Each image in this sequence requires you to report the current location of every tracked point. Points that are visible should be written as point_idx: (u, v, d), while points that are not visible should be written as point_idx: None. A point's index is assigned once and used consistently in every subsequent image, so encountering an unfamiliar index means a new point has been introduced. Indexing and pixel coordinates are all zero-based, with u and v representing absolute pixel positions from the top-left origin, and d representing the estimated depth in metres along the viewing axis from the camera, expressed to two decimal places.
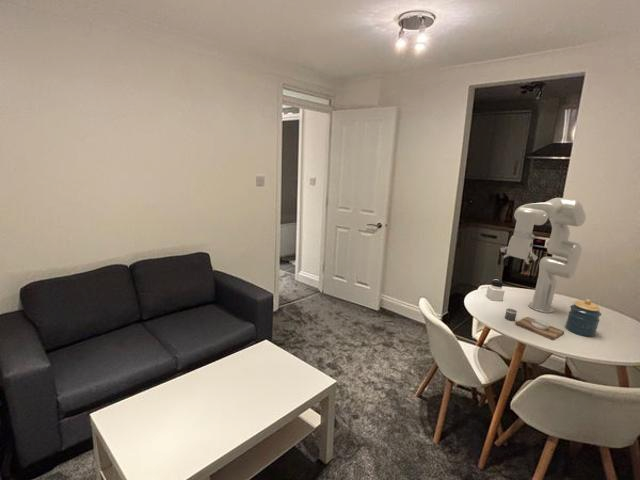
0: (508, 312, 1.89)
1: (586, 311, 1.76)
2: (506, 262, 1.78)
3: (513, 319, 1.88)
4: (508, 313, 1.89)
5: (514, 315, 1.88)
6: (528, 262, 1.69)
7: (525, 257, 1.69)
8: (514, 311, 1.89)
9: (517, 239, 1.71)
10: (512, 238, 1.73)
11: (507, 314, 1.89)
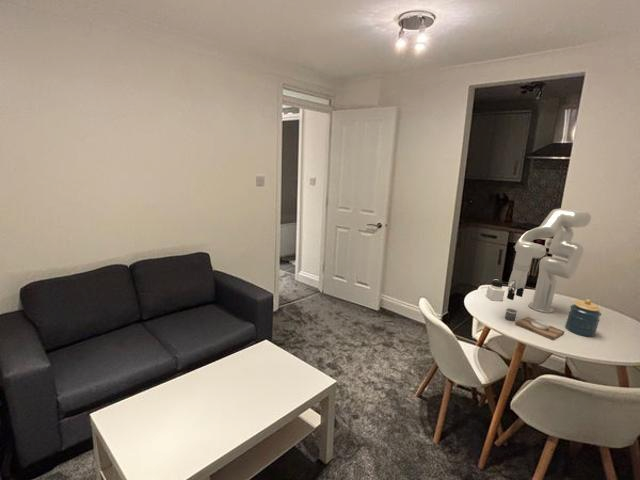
0: (508, 312, 1.89)
1: (586, 311, 1.76)
2: None
3: (513, 319, 1.88)
4: (508, 313, 1.89)
5: (514, 315, 1.88)
6: None
7: (524, 285, 1.87)
8: (514, 311, 1.89)
9: (524, 272, 1.82)
10: (521, 273, 1.81)
11: (507, 314, 1.89)
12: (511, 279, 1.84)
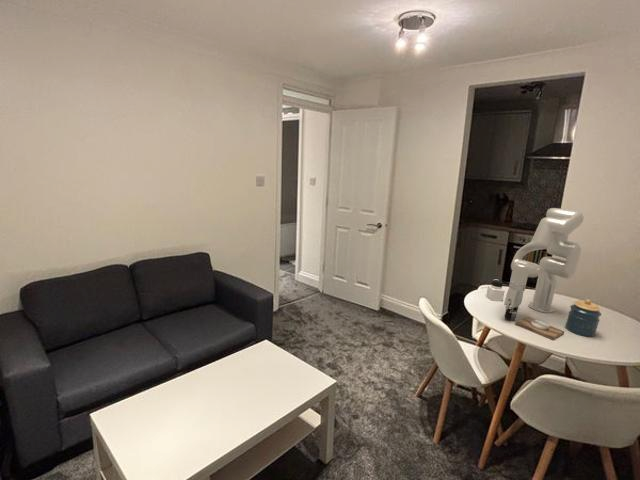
0: None
1: (586, 311, 1.76)
2: None
3: (513, 319, 1.88)
4: None
5: (514, 315, 1.88)
6: None
7: (520, 303, 1.90)
8: (514, 311, 1.89)
9: (520, 292, 1.85)
10: (517, 292, 1.83)
11: None
12: (507, 298, 1.86)
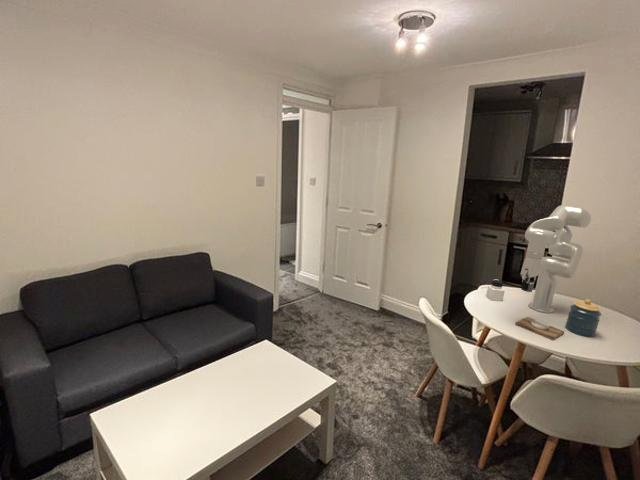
0: None
1: (586, 311, 1.76)
2: None
3: (530, 290, 1.81)
4: None
5: (531, 286, 1.80)
6: None
7: (538, 273, 1.82)
8: (531, 281, 1.81)
9: (538, 261, 1.77)
10: (534, 261, 1.76)
11: None
12: (524, 267, 1.79)
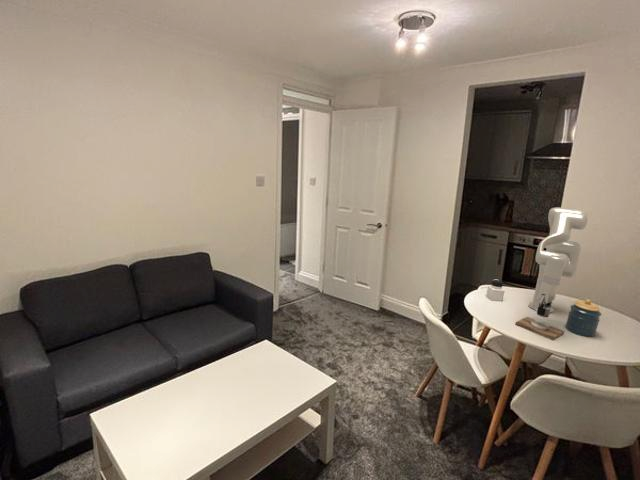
0: None
1: (586, 311, 1.76)
2: None
3: (546, 315, 1.77)
4: None
5: (548, 311, 1.76)
6: None
7: (554, 298, 1.78)
8: (547, 307, 1.77)
9: (555, 286, 1.73)
10: (552, 286, 1.72)
11: None
12: (540, 292, 1.75)
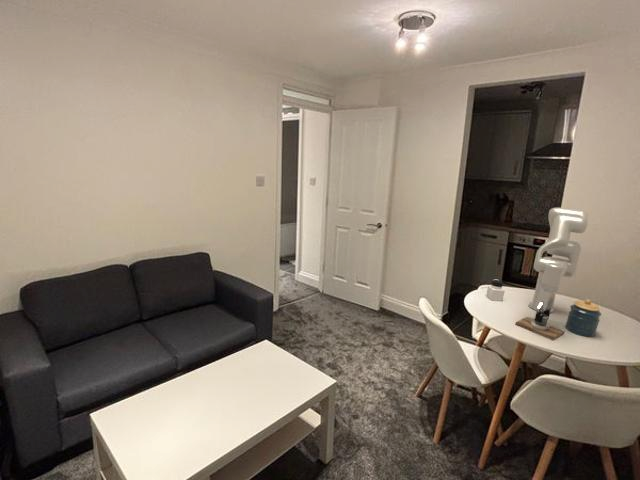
0: None
1: (586, 311, 1.76)
2: None
3: (544, 324, 1.78)
4: None
5: (545, 320, 1.78)
6: None
7: (552, 305, 1.79)
8: (545, 316, 1.78)
9: (553, 293, 1.74)
10: (550, 294, 1.73)
11: None
12: (539, 300, 1.76)
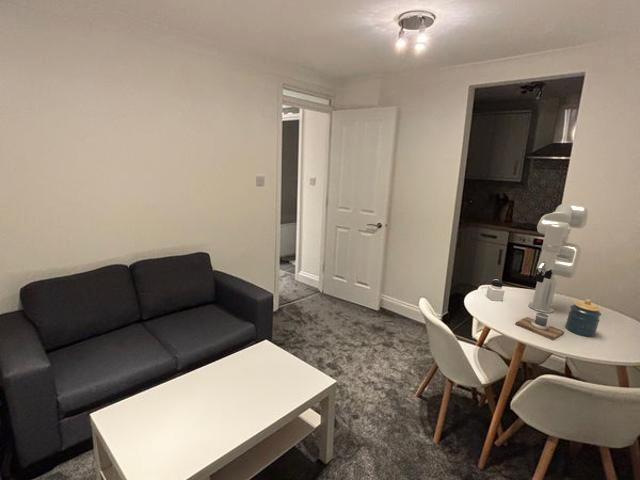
0: (539, 317, 1.78)
1: (586, 311, 1.76)
2: None
3: (544, 324, 1.78)
4: (539, 318, 1.78)
5: (545, 320, 1.78)
6: None
7: (554, 266, 1.80)
8: (545, 316, 1.78)
9: (554, 254, 1.74)
10: (552, 254, 1.73)
11: (538, 319, 1.79)
12: (540, 261, 1.76)
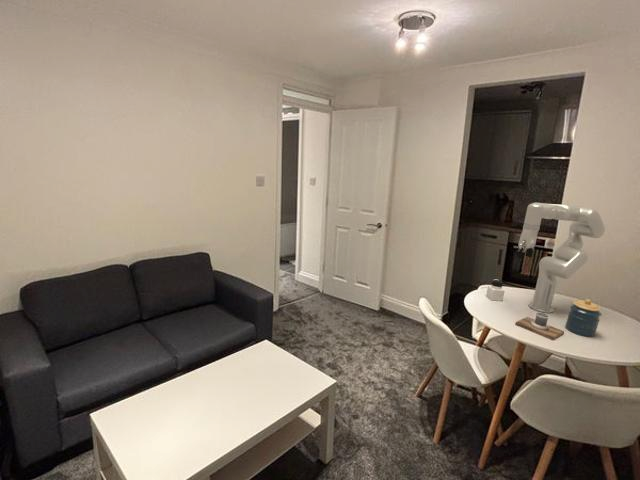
0: (539, 317, 1.78)
1: (586, 311, 1.76)
2: None
3: (544, 324, 1.78)
4: (539, 318, 1.78)
5: (545, 320, 1.78)
6: None
7: (534, 245, 1.92)
8: (545, 316, 1.78)
9: (534, 232, 1.87)
10: (531, 232, 1.86)
11: (538, 319, 1.79)
12: (521, 239, 1.89)
